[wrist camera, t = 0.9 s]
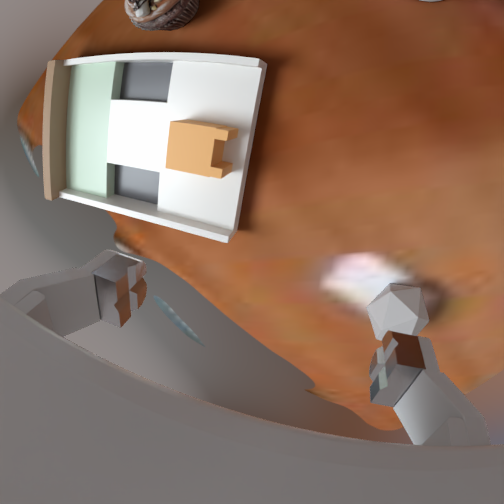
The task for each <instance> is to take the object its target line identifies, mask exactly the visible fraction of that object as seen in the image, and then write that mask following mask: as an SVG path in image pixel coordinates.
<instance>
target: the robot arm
mask: <svg viewBox="0 0 504 504" xmlns="http://www.w3.org/2000/svg"><path fill="white" fill-rule="evenodd" d="M421 1H429V2H434V1H441V0H421ZM145 274H146V264H145V263H144V262H143V261H141V260H138V259H135V258H132V257H130V256H127V255H124V254H121V253H118V252H115V251H112V250H105V251H103V252H102V253H101V254H99V255H98V256H96V257H95V258H94V259H92V260H91V261H89V262H88V263H87V264H85V265H84V266H83V267H81V268H80V269H79V268H73V269H67V270H63V271H58V272H54V273H49V274H44V275H40V276H35V277H31V278H27V279H22V280H19V281H18V282H16V283H15V284H14V285H12V286H11V287H10V288H8V289H7V290H6V291H4V292H3V293H2V294H0V504H504V444H502V445H491V443H490V438H489V434H488V430H487V426H486V422H485V418H484V417H483V416H482V415H481V413H480V412H479V411H478V410H477V409H476V408H475V407H474V406H473V404H472V403H471V402H470V401H469V400H468V399H467V398H466V397H465V396H464V394H463V393H462V392H461V391H460V390H459V389H458V388H457V387H456V386H455V385H454V383H453V382H452V381H451V380H450V379H449V378H448V377H447V376H446V375H445V374H444V373H441V372H440V370H439V367H438V363H437V360H436V356H435V353H434V349H433V346H432V343H431V340H430V339H429V338H426V337H421V336H413V335H409V334H404V333H399V332H395V331H390V330H388V331H387V332H386V333H385V335H384V337H383V339H382V343H383V346H382V347H380V348H378V349H377V350H376V351H375V353H374V355H373V357H372V360H371V364H370V370H369V376H370V378H371V379H372V381H373V383H372V385H371V386H370V401H371V403H374V404H379V405H385V406H390V407H394V408H393V409H394V410H395V412H396V414H397V416H398V417H399V419H400V421H401V423H402V424H403V426H404V428H405V429H406V431H407V433H408V435H409V437H410V438H411V440H412V442H413V444H414V445H409V444H396V443H386V442H377V441H368V440H362V439H355V438H348V437H342V436H336V435H331V434H325V433H319V432H315V431H310V430H305V429H301V428H296V427H292V426H288V425H283V424H279V423H275V422H271V421H268V420H264V419H260V418H257V417H253V416H249V415H246V414H242V413H239V412H236V411H233V410H229V409H226V408H223V407H220V406H217V405H214V404H211V403H208V402H205V401H202V400H199V399H197V398H194V397H191V396H189V395H186V394H183V393H181V392H178V391H175V390H173V389H170V388H168V387H165V386H163V385H160V384H158V383H156V382H153V381H151V380H148V379H146V378H144V377H142V376H139V375H137V374H135V373H133V372H130V371H128V370H126V369H124V368H122V367H119V366H118V365H115V364H113V363H111V362H109V361H107V360H105V359H103V358H101V357H99V356H97V355H95V354H93V353H91V352H89V351H88V350H86V349H84V348H82V347H80V346H78V345H77V344H75V343H73V342H71V341H69V340H68V339H66V338H64V337H63V336H66V335H68V334H70V333H73V332H75V331H78V330H80V329H82V328H84V327H87V326H89V325H92V324H94V323H96V322H98V321H100V319H101V320H103V321H105V322H108V323H110V324H113V325H115V326H118V327H122V326H123V325H124V323H126V321H127V320H128V319H129V318H130V317H131V311H133V310H136V309H138V308H139V307H140V306H141V305H142V303H143V301H144V299H145V296H146V291H147V287H146V286H147V285H146V282H145V281H144V279H143V276H144V275H145Z"/></svg>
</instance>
